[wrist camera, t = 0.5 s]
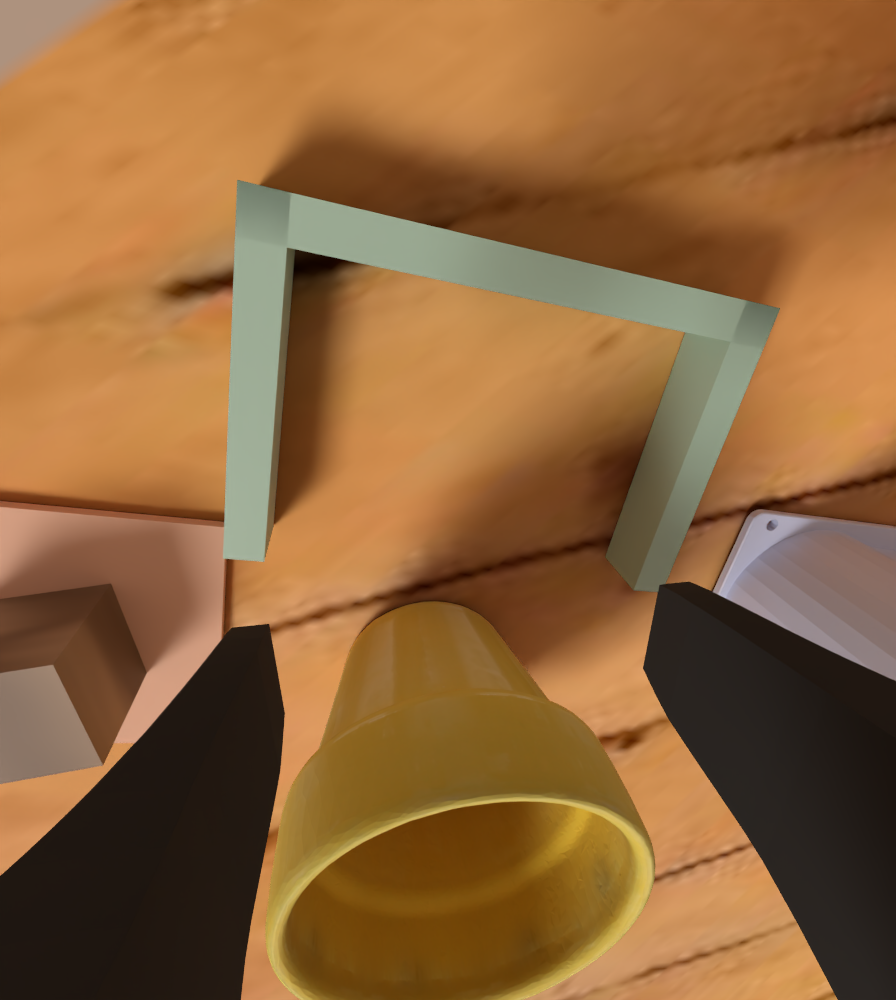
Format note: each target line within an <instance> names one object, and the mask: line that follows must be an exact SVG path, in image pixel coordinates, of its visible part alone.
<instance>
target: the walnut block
mask: <svg viewBox="0 0 896 1000" xmlns="http://www.w3.org/2000/svg"><path fill="white" fill-rule="evenodd" d="M146 674H147V672H146V669H145V667H144V664H143V662H142V659H141V657H140V654H139V652H138V649H137V647H136V644H135V642H134V639H133V637H132V634H131V632H130V629H129V627H128V625H127V622H126V620H125V617H124V615H123V612H122V610H121V607H120V605H119V602H118V600H117V597H116V595H115V592H114V590H113V587H112V585H111V584H104V585H97V586H90V587H82V588H75V589H68V590H61V591H54V592H47V593H40V594H33V595H25V596H18V597H11V598H4V599H0V784H3V783H9V782H14V781H20V780H25V779H31V778H36V777H42V776H47V775H53V774H58V773H64V772H69V771H75V770H80V769H86V768H91V767H97V766H102V765H103V764H104V762H105V760H106V758H107V756H108V754H109V752H110V749H111V747H112V745H113V743H114V741H115V739H116V737H117V735H118V733H119V731H120V728H121V726H122V724H123V722H124V720H125V718H126V716H127V714H128V712H129V710H130V707H131V705H132V703H133V701H134V699H135V697H136V695H137V693H138V691H139V689H140V686H141V684H142V682H143V680H144V678H145V676H146Z"/></svg>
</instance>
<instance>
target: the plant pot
mask: <svg viewBox="0 0 896 1000" xmlns="http://www.w3.org/2000/svg"><path fill="white" fill-rule="evenodd" d="M654 878H655V857H654V852H653V847H652V843H651V840H650V837H649V835H648V833H647V830H646V828H645V826H644V824H643V822H642V820H641V818H640V816H639V814H638V812H637V809H636V807H635V805H634V803H633V801H632V799H631V797H630V795H629V793H628V792H627V790H626V788H625V786H624V784H623V782H622V780H621V778H620V776H619V775H618V773H617V771H616V769H615V767H614V765H613V764H612V762H611V760H610V758H609V757H608V755H607V753H606V752H605V750H604V748H603V746H602V745H601V743H600V741H599V740H598V738H597V737H596V735H595V734H594V732H593V731H592V730H591V729H590V728H589V727H588V726H587V725H586V724H585V723H584V722H583V721H582V720H581V719H580V718H579V717H577V716H576V715H575V714H574V713H572V712H571V711H569V710H567V709H566V708H564V707H562V706H560V705H558V704H556V703H554V702H552V701H549V699H548V698H547V697H546V695H545V694H544V693H543V692H542V690H541V689H540V688H539V686H538V685H537V684H536V682H535V681H534V680H533V678H532V677H531V676H530V675H529V673H528V672H527V671H526V669H525V668H524V667H523V665H522V664H521V663H520V662H519V660H518V659H517V658H516V656H515V655H514V654H513V652H512V651H511V650H510V648H509V647H508V646H507V644H506V643H505V642H504V640H503V639H502V638H501V636H500V635H499V634H498V633H497V631H496V630H495V629H494V627H493V626H492V625H491V624H490V623H489V622H488V621H487V620H486V619H485V618H484V617H482V616H481V615H479V614H478V613H476V612H475V611H473V610H471V609H469V608H466V607H464V606H461V605H457V604H453V603H448V602H438V601H428V602H419V603H413V604H409V605H405V606H402V607H399V608H397V609H394V610H392V611H389V612H387V613H385V614H384V615H382V616H380V617H379V618H377V619H375V620H374V621H373V622H372V623H370V624H369V625H368V626H367V627H366V628H365V629H364V630H363V631H362V632H361V633H360V635H359V636H358V637H357V639H356V640H355V642H354V643H353V645H352V647H351V650H350V652H349V654H348V657H347V660H346V663H345V666H344V670H343V673H342V677H341V680H340V683H339V687H338V690H337V693H336V696H335V699H334V702H333V706H332V709H331V712H330V716H329V719H328V722H327V725H326V728H325V731H324V734H323V737H322V740H321V743H320V747H319V749H318V751H317V752H316V753H315V754H314V755H313V756H312V757H311V758H310V759H309V760H308V761H307V763H306V764H305V765H304V767H303V768H302V770H301V771H300V772H299V774H298V776H297V777H296V779H295V781H294V782H293V784H292V786H291V789H290V791H289V793H288V795H287V798H286V802H285V805H284V808H283V812H282V816H281V821H280V827H279V833H278V839H277V845H276V851H275V857H274V863H273V869H272V875H271V883H270V890H269V898H268V907H267V916H266V925H265V931H266V948H267V954H268V957H269V960H270V962H271V965H272V968H273V970H274V972H275V973H276V975H277V977H278V978H279V980H280V981H281V982H282V984H283V985H284V986H285V987H286V988H287V989H288V990H289V991H290V992H291V993H292V994H294V995H295V996H296V997H298V998H299V999H300V1000H524V999H526V998H529V997H531V996H534V995H536V994H538V993H540V992H542V991H545V990H547V989H549V988H551V987H553V986H555V985H557V984H559V983H560V982H562V981H564V980H566V979H567V978H569V977H571V976H572V975H574V974H576V973H577V972H579V971H581V970H582V969H584V968H585V967H587V966H588V965H589V964H591V963H592V962H594V961H595V960H596V959H598V958H599V957H600V956H602V955H603V954H604V953H606V952H607V951H608V950H609V949H610V948H611V947H612V946H613V945H614V944H615V943H617V942H618V941H619V940H620V939H621V938H622V937H623V936H624V934H625V933H626V932H627V931H628V930H629V929H630V927H631V926H632V925H633V924H634V922H635V921H636V920H637V918H638V917H639V916H640V914H641V912H642V910H643V909H644V907H645V905H646V903H647V901H648V899H649V896H650V893H651V890H652V887H653V883H654Z"/></svg>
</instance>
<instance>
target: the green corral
mask: <svg viewBox="0 0 896 1000" xmlns="http://www.w3.org/2000/svg"><path fill="white" fill-rule="evenodd" d="M295 249H296V250H301V251H306V252H310V253H315V254H320V255H325V256H329V257H334V258H339V259H343V260H348V261H353V262H357V263H362V264H367V265H372V266H376V267H381V268H386V269H390V270H395V271H400V272H404V273H409V274H414V275H419V276H423V277H428V278H433V279H437V280H442V281H447V282H451V283H456V284H461V285H466V286H470V287H475V288H480V289H484V290H489V291H494V292H498V293H503V294H508V295H513V296H517V297H522V298H527V299H531V300H536V301H541V302H545V303H550V304H555V305H559V306H564V307H569V308H574V309H578V310H583V311H588V312H592V313H597V314H602V315H606V316H611V317H616V318H621V319H625V320H630V321H635V322H639V323H644V324H649V325H653V326H658V327H663V328H668V329H672V330H677V331H682V332H685V334H684V337H683V340H682V343H681V346H680V348H679V351H678V354H677V357H676V360H675V363H674V365H673V368H672V371H671V374H670V377H669V379H668V382H667V385H666V388H665V391H664V393H663V396H662V399H661V402H660V405H659V407H658V410H657V413H656V416H655V419H654V421H653V424H652V427H651V430H650V433H649V435H648V438H647V441H646V444H645V447H644V449H643V452H642V455H641V458H640V461H639V463H638V466H637V469H636V472H635V475H634V477H633V480H632V483H631V486H630V489H629V491H628V494H627V497H626V500H625V503H624V506H623V508H622V511H621V514H620V517H619V520H618V522H617V525H616V528H615V531H614V534H613V536H612V539H611V542H610V545H609V548H608V550H607V553H606V556H605V558H606V559H607V560H608V561H609V562H610V563H611V565H612V566H613V567H614V568H615V569H616V570H617V572H618V573H619V574H620V575H621V576H622V577H623V579H624V580H625V581H626V582H627V583H628V584H629V586H630V587H631V588H632V589H633V590H636V591H648V592H658V590H659V585H662V584H666V581H667V579H668V577H669V574H670V572H671V569H672V567H673V565H674V562H675V560H676V557H677V555H678V553H679V550H680V548H681V545H682V543H683V541H684V538H685V536H686V533H687V531H688V529H689V526H690V524H691V521H692V519H693V517H694V514H695V512H696V509H697V507H698V504H699V502H700V500H701V497H702V495H703V492H704V490H705V488H706V485H707V483H708V480H709V478H710V476H711V473H712V471H713V468H714V466H715V464H716V461H717V459H718V456H719V454H720V452H721V449H722V447H723V444H724V442H725V440H726V437H727V435H728V432H729V430H730V428H731V425H732V423H733V420H734V418H735V416H736V413H737V411H738V408H739V406H740V404H741V401H742V399H743V396H744V394H745V392H746V389H747V387H748V384H749V382H750V380H751V377H752V375H753V372H754V370H755V368H756V365H757V363H758V360H759V358H760V356H761V353H762V351H763V348H764V346H765V344H766V341H767V339H768V336H769V334H770V332H771V329H772V327H773V324H774V322H775V320H776V317H777V315H778V312H779V310H780V308H776V307H772V306H768V305H763V304H759V303H755V302H751V301H747V300H742V299H738V298H734V297H730V296H725V295H721V294H717V293H713V292H709V291H704V290H700V289H696V288H692V287H687V286H683V285H679V284H675V283H670V282H666V281H662V280H658V279H654V278H649V277H645V276H641V275H637V274H632V273H628V272H624V271H620V270H616V269H611V268H607V267H603V266H599V265H594V264H590V263H586V262H582V261H578V260H573V259H569V258H565V257H561V256H556V255H552V254H548V253H544V252H540V251H535V250H531V249H527V248H523V247H518V246H514V245H510V244H506V243H501V242H497V241H493V240H489V239H485V238H480V237H476V236H472V235H468V234H463V233H459V232H455V231H451V230H447V229H442V228H438V227H434V226H430V225H425V224H421V223H417V222H413V221H409V220H404V219H400V218H396V217H392V216H387V215H383V214H379V213H375V212H370V211H366V210H362V209H358V208H354V207H349V206H345V205H341V204H337V203H332V202H328V201H324V200H320V199H316V198H311V197H307V196H303V195H299V194H294V193H290V192H286V191H282V190H278V189H273V188H269V187H265V186H261V185H256V184H252V183H248V182H244V181H240V180H237V202H236V228H235V254H234V281H233V307H232V333H231V359H230V386H229V412H228V438H227V465H226V491H225V517H224V544H223V559H236V560H249V561H262V562H264V560H265V556H266V553H267V549H268V545H269V541H270V538H271V534H272V530H273V526H274V514H275V501H276V488H277V476H278V463H279V450H280V437H281V424H282V412H283V399H284V386H285V373H286V361H287V348H288V335H289V322H290V309H291V297H292V284H293V271H294V258H295Z"/></svg>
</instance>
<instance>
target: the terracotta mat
mask: <svg viewBox="0 0 896 1000" xmlns="http://www.w3.org/2000/svg"><path fill="white" fill-rule="evenodd" d="M223 544H224V522H222V521H211V520H200V519H190V518H179V517H168V516H157V515H147V514H136V513H125V512H114V511H104V510H93V509H82V508H71V507H61V506H50V505H39V504H28V503H18V502H7V501H0V599H4V598H11V597H18V596H25V595H33V594H40V593H47V592H54V591H61V590H68V589H75V588H82V587H90V586H97V585H104V584H111V585H112V587H113V590H114V592H115V595H116V597H117V600H118V602H119V605H120V607H121V610H122V612H123V615H124V617H125V620H126V622H127V625H128V627H129V629H130V632H131V634H132V637H133V639H134V642H135V644H136V647H137V649H138V652H139V654H140V657H141V659H142V662H143V664H144V667H145V669H146V672H147V674H146V676H145V678H144V680H143V682H142V684H141V686H140V689H139V691H138V693H137V695H136V697H135V699H134V701H133V703H132V705H131V707H130V710H129V712H128V714H127V716H126V718H125V720H124V722H123V724H122V726H121V728H120V731H119V733H118V735H117V737H116V739H115V741H114V743H136V741H137V740H138V739H139V738H140V737H141V736H142V735H143V734H144V733H145V732H146V730H147V729H148V728H149V727H150V726H151V725H152V723H153V722H154V721H155V720H156V719H157V718H158V716H159V715H160V714H161V713H162V712H163V711H164V709H165V708H166V707H167V706H168V705H169V704H170V702H171V701H172V700H173V699H174V698H175V696H176V695H177V694H178V693H179V692H180V691H181V689H182V688H183V687H184V686H185V684H186V683H187V682H188V681H189V680H190V678H191V677H192V676H193V675H194V673H195V672H196V671H197V670H198V668H199V667H200V666H201V665H202V663H203V662H204V661H205V660H206V658H207V657H208V656H209V655H210V653H211V652H212V651H213V650H214V648H215V647H216V646H217V645H218V643H219V642H220V641H221V640H222V638H223V635H224V611H225V586H226V562H227V559H223Z"/></svg>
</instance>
